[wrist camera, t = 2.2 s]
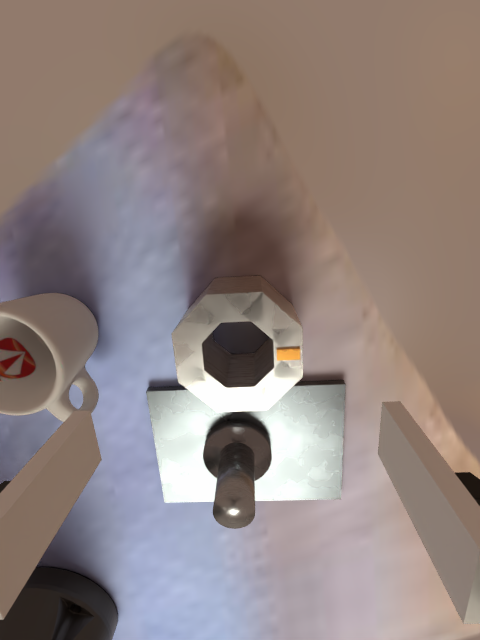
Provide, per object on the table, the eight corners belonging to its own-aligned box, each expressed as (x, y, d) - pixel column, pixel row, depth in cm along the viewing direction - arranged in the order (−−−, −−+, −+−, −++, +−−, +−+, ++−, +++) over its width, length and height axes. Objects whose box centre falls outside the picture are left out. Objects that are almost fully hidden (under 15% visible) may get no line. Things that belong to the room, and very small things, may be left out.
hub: (195, 375, 31) (181, 414, 25) (184, 279, 28) (165, 297, 22) (293, 371, 30) (303, 410, 24) (291, 273, 27) (302, 290, 22)
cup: (146, 367, 31) (111, 419, 23) (78, 403, 32) (24, 462, 24) (73, 265, 28) (7, 285, 20) (3, 309, 29) (-84, 343, 22)
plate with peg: (166, 496, 35) (143, 574, 28) (148, 387, 31) (115, 443, 24) (338, 492, 34) (363, 573, 27) (343, 379, 30) (373, 436, 23)
